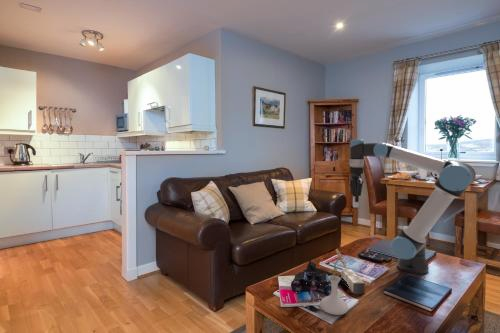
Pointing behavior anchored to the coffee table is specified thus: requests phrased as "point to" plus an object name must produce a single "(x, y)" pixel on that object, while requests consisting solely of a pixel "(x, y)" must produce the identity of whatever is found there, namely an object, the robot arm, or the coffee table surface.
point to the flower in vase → (334, 294)
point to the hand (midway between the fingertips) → (355, 207)
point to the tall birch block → (353, 281)
